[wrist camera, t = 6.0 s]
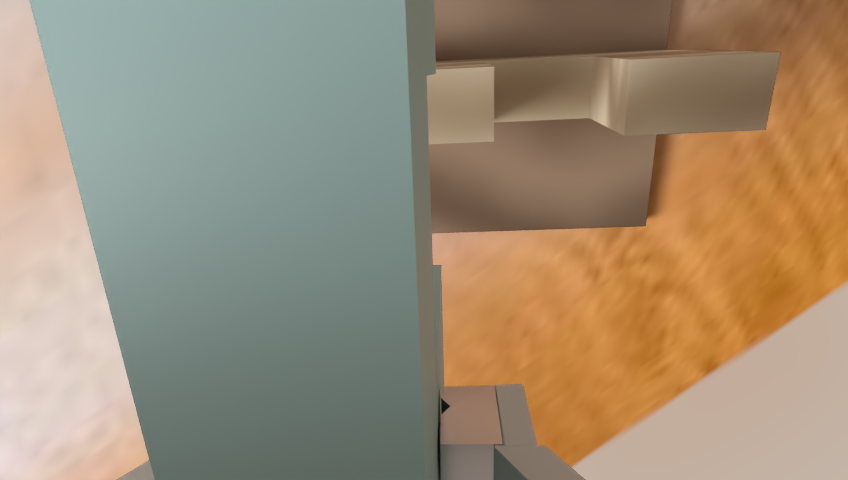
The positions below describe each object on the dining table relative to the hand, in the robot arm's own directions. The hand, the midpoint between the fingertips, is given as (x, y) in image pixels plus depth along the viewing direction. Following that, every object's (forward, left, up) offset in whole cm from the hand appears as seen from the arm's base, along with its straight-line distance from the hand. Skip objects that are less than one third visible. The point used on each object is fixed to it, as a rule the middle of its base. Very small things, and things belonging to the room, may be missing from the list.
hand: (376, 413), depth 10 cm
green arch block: (-4, 0, -4) cm, 5 cm away
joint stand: (-4, +5, -20) cm, 21 cm away
